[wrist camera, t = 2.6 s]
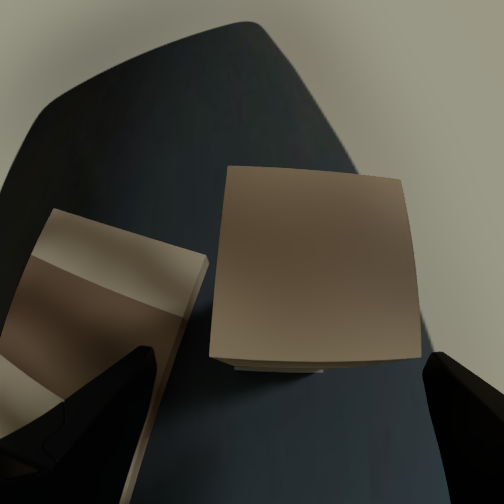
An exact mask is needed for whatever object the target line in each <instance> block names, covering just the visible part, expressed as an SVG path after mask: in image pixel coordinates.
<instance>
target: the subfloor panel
mask: <svg viewBox="0 0 504 504" xmlns="http://www.w3.org/2000/svg"><path fill="white" fill-rule="evenodd" d="M208 265H209V262H208V259H207V257H206V255H203V254H200V253H197V252H193V251H190V250H187V249H183V248H180V247H177V246H173V245H170V244H167V243H164V242H160V241H157V240H154V239H150V238H147V237H144V236H141V235H137V234H134V233H131V232H128V231H124V230H121V229H118V228H115V227H112V226H108V225H105V224H102V223H99V222H96V221H92V220H89V219H86V218H83V217H80V216H77V215H73V214H70V213H67V212H64V211H61V210H58V209H55V208H54V209H53V211H52V213H51V215H50V217H49V219H48V221H47V223H46V225H45V227H44V229H43V231H42V233H41V235H40V237H39V239H38V241H37V243H36V245H35V247H34V250H33V252H32V254H31V256H30V259H29V261H28V263H27V265H26V268H25V270H24V273H23V275H22V277H21V280H20V282H19V285H18V288H17V290H16V293H15V295H14V298H13V301H12V304H11V307H10V309H9V312H8V315H7V318H6V321H5V324H4V328H3V331H2V334H1V337H0V438H2V437H4V436H6V435H8V434H10V433H12V432H14V431H15V430H17V429H19V428H21V427H23V426H24V425H26V424H28V423H30V422H31V421H33V420H35V419H37V418H38V417H40V416H42V415H43V414H45V413H46V412H48V411H49V410H51V409H52V408H53V407H55V406H56V405H58V404H59V403H60V402H62V401H63V402H64V400H65V399H66V398H68V397H69V396H70V395H72V394H73V393H74V392H76V391H77V390H79V389H80V388H81V387H83V386H84V385H86V384H87V383H88V382H90V381H91V380H92V379H94V378H95V377H97V376H98V375H99V374H101V373H102V372H103V371H105V370H106V369H108V368H109V367H110V366H112V365H113V364H114V363H116V362H117V361H119V360H120V359H121V358H123V357H124V356H125V355H127V354H128V353H130V352H131V351H132V350H134V349H135V348H136V347H138V346H139V345H146V346H151V347H153V349H154V353H155V358H156V362H157V374H156V379H155V383H154V388H153V393H152V397H151V402H150V407H149V411H148V415H147V418H146V421H145V424H144V427H143V430H142V433H141V436H140V439H139V442H138V445H137V448H136V451H135V454H134V457H133V460H132V464H131V467H130V470H129V473H128V476H127V480H126V483H125V486H124V489H123V493H122V496H121V499H120V503H119V504H129V503H130V500H131V496H132V493H133V489H134V486H135V483H136V479H137V476H138V472H139V469H140V466H141V462H142V459H143V456H144V453H145V449H146V446H147V443H148V440H149V436H150V433H151V430H152V427H153V424H154V421H155V418H156V414H157V411H158V408H159V405H160V402H161V399H162V396H163V393H164V390H165V387H166V384H167V381H168V378H169V375H170V372H171V369H172V366H173V363H174V360H175V357H176V354H177V352H178V349H179V346H180V343H181V340H182V337H183V334H184V332H185V329H186V326H187V323H188V320H189V317H190V315H191V312H192V309H193V306H194V303H195V301H196V298H197V295H198V292H199V290H200V287H201V284H202V282H203V279H204V276H205V273H206V271H207V268H208Z"/></svg>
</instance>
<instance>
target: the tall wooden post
mask: <svg viewBox="0 0 504 504" xmlns="http://www.w3.org/2000/svg"><path fill="white" fill-rule="evenodd" d="M209 357H211V358H214V359H216V360H219V361H222V362H224V363H227V364H230V365H233V366H234V370H243V371H262V372H294V373H321V372H323V370H324V369H336V368H346V367H356V366H365V365H373V364H381V363H388V362H395V361H402V360H408V359H414V358H420V357H421V328H420V310H419V297H418V286H417V276H416V267H415V259H414V252H413V244H412V238H411V232H410V225H409V219H408V214H407V208H406V203H405V198H404V193H403V189H402V184H401V180H398V179H391V178H384V177H376V176H367V175H358V174H349V173H339V172H328V171H316V170H303V169H289V168H272V167H250V166H228V170H227V178H226V187H225V195H224V204H223V213H222V222H221V231H220V240H219V250H218V260H217V270H216V280H215V291H214V302H213V313H212V325H211V337H210V350H209Z"/></svg>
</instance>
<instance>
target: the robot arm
mask: <svg viewBox="0 0 504 504" xmlns="http://www.w3.org/2000/svg"><path fill="white" fill-rule="evenodd" d="M156 374H157V362H156V358H155V353H154V349H153V347H151V346H146V345H139V346H138V347H136V348H135V349H134V350H132V351H131V352H130V353H128V354H127V355H125V356H124V357H123V358H121V359H120V360H119V361H117V362H116V363H114V364H113V365H112V366H110V367H109V368H108V369H106V370H105V371H103V372H102V373H101V374H99V375H98V376H97V377H95V378H94V379H92V380H91V381H90V382H88V383H87V384H86V385H84V386H83V387H81V388H80V389H79V390H77V391H76V392H74V393H73V394H72V395H70V396H69V397H68V398H66V399H65V400H64V402H63V401H62V402H60V403H59V404H58V405H56V406H55V407H53V408H52V409H51V410H49V411H48V412H46V413H45V414H43V415H42V416H40V417H38V418H37V419H35V420H33V421H31V422H30V423H28V424H26V425H24V426H23V427H21V428H19V429H17V430H15V431H14V432H12V433H10V434H8V435H6V436H4V437H2V438H0V504H119V503H120V499H121V496H122V493H123V489H124V486H125V483H126V480H127V476H128V473H129V470H130V467H131V464H132V460H133V457H134V454H135V451H136V448H137V445H138V442H139V439H140V436H141V433H142V430H143V427H144V424H145V421H146V418H147V415H148V411H149V407H150V402H151V397H152V393H153V388H154V383H155V379H156ZM422 377H423V382H424V387H425V392H426V397H427V402H428V408H429V412H430V416H431V420H432V424H433V427H434V431H435V435H436V438H437V442H438V446H439V450H440V454H441V458H442V462H443V467H444V471H445V476H446V481H447V485H448V490H449V496H450V501H451V504H504V394H502V393H501V392H499V391H498V390H497V389H495V388H494V387H492V386H491V385H490V384H488V383H487V382H485V381H484V380H482V379H481V378H480V377H478V376H477V375H475V374H474V373H472V372H471V371H470V370H468V369H467V368H465V367H464V366H462V365H461V364H460V363H458V362H457V361H455V360H454V359H452V358H451V357H449V356H448V355H447V354H445V353H444V352H433V353H431V354H430V356H429V358H428V360H427V362H426V365H425V367H424V369H423V373H422Z"/></svg>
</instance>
